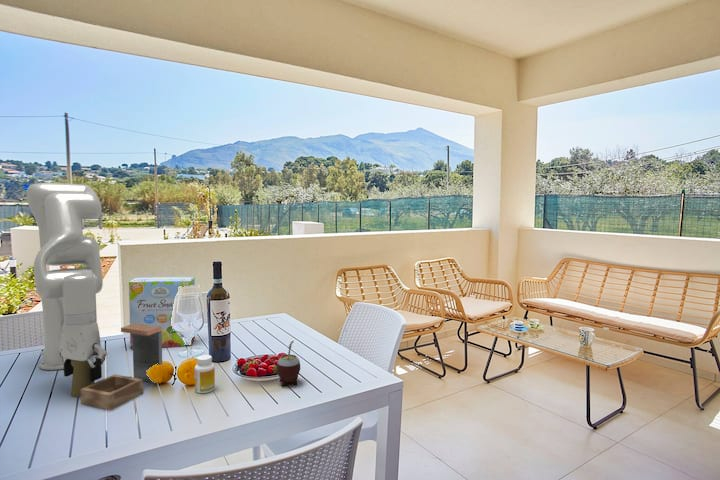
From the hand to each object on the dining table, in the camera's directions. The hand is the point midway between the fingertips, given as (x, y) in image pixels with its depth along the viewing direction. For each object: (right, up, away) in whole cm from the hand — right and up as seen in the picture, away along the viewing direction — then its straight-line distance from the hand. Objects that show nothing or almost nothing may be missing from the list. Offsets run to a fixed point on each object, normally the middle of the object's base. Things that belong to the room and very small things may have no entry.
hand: (82, 377), depth 114 cm
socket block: (+10, -5, -3) cm, 12 cm away
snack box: (+3, -2, +40) cm, 40 cm away
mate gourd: (+57, -5, +8) cm, 58 cm away
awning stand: (+14, -4, +7) cm, 16 cm away
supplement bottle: (+33, -5, +3) cm, 34 cm away
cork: (0, -5, 0) cm, 5 cm away
